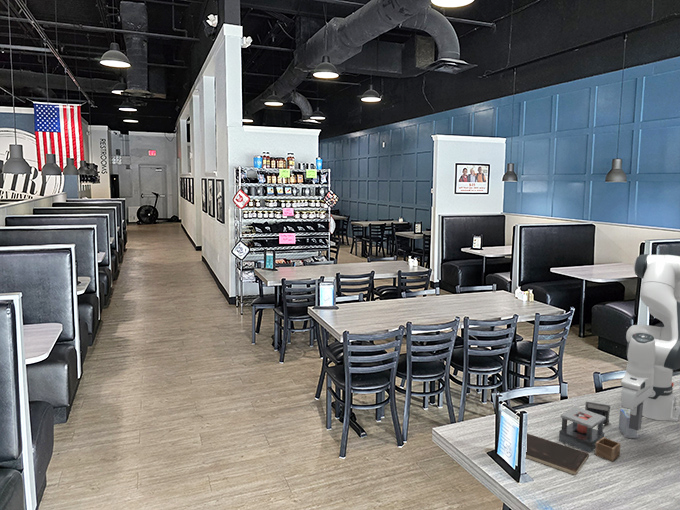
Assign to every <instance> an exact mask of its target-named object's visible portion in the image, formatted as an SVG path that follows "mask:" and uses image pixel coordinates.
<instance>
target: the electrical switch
mask: <svg viewBox="0 0 680 510" xmlns="http://www.w3.org/2000/svg"><path fill="white" fill-rule="evenodd" d="M584 406H585V407H584V410H587V411H590V412H593V413H596V414H599V415H602V416H605V417H606V419H605V420H604V423H603V424H605V425H604V426H608V423H610V422H609V421H610V412H611V411H610V410H611V404H610V403H604V402H598V401H593V400H586V401H585V405H584ZM583 417H586V416H583ZM586 418H588V419H589V417H586Z"/></svg>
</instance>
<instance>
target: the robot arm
mask: <svg viewBox="0 0 680 510" xmlns="http://www.w3.org/2000/svg"><path fill="white" fill-rule="evenodd" d="M633 270H634V274H635V275H636V276H637V278H640V279H642V281H641V284H640V285H641V286H640V292H639V293H640V300H641V301H642V303H643V304H644V305H645V306H646V307H648V308H647V309H648V312H649V314H650V315H651V316H652V317H654V318H655V319H657V320H659V321H660V322H662V324H663V325H664V326H656V325H650V324H632V325H631V326H630V327H629V328H628V329H627V331H626V335H625V339H626V341H627V344H626V356H627V365H626V368H625V369H626V370H625V373H624V376H623V377H622V379H621V380H620V386H621V387H622V388H621V396H620V397H621V399H620V401H621V403H620V404H621V407H622V408H623V409H628V410H631V414H632V415H637V412H638V410H637V406H638V405H639V404H640V403H643V411H642V417H644V418H648V419H651V420H656V421H672V422H678V421H679V420H680V406H679V405H677V397H676V395H674V394H673V392H674V390H673V388H674V385H675V383H674V382H673V381H672V380H673V373H674V371H677V370H680V255H673V254H649V253H647V254H646V253H645V254H640V255H638V256H637V257H636V259H635V261H634V264H633Z"/></svg>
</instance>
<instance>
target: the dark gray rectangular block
mask: <svg viewBox="0 0 680 510" xmlns="http://www.w3.org/2000/svg"><path fill="white" fill-rule="evenodd" d="M637 410H638V412H637V415H632V414H631V412H630V423H629V428H631V429H634V430H637V432H638V431H640V430H641V428H642V421H643V416H642V411H643V403H640V404H639V405H638V406H637Z"/></svg>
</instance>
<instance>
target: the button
mask: <svg viewBox="0 0 680 510" xmlns="http://www.w3.org/2000/svg"><path fill="white" fill-rule="evenodd" d="M579 417H580V418H582V419H585V420H588V418H586V417H584V416H583V415H581V416H580V415H579ZM577 431H578V432H580V433H587V427H586V426H583V425H580V424H578V423H577Z"/></svg>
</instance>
